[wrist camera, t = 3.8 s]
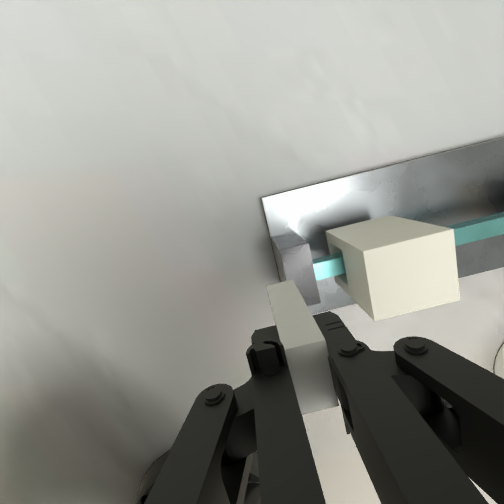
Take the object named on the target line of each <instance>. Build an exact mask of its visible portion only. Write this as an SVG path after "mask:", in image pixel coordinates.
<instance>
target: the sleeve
mask: <svg viewBox="0 0 504 504" xmlns="http://www.w3.org/2000/svg"><path fill="white" fill-rule="evenodd" d="M325 232H326V237H327V242H328V247H329V253H330V255H332V254H336V253H340V252H342V253H343V259H344V264H345V270H346V273H345V274H341V275H336V276H334V279H335V282H336V283H337V284H338V285H339V286H340V287H341V288H342V289H343V290H344V291H345V292H346V293H347V294H348V295H349V296H350V297H351V298H352V299H353V300H354V301H355V302H356V303H357V304H358V305H359V306H360V307H361V308H362V309H363V310H364V311H365V312H366V313H367V314H368V315H369V316H370V317H371V318H372V319H373V320H374V321H378V320H382V319H386V318H390V317H394V316H398V315H402V314H406V313H410V312H414V311H418V310H422V309H426V308H430V307H434V306H438V305H442V304H446V303H450V302H454V301H458V300H460V293H459V282H458V271H457V261H456V250H455V239H454V229H451V228H447V227H442V226H438V225H433V224H428V223H424V222H419V221H414V220H410V219H405V218H401V217H396V216H391V215H387V216H383V217H379V218H375V219H371V220H367V221H363V222H359V223H355V224H351V225H347V226H343V227H339V228H335V229H331V230H327V231H325Z"/></svg>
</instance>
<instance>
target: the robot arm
mask: <svg viewBox="0 0 504 504" xmlns="http://www.w3.org/2000/svg"><path fill="white" fill-rule="evenodd" d="M266 287H267V291H268V295H269V299H270V303H271V307H272V311H273V316H274V320H275V324H276V325H275V326H271V327H267V328H263V329H259V330H255V332H254V333H253V335H252V337H251V339H252V345H251V346H250V347H249V348H248V349H247V352H246V355H247V359H248V363H249V366H250V370H251V373H252V377H251V378H250V380H249V381H248V382H246V383H245V384H244V385H242V386H240V387H238V388H236V389H234V390H233V389H232V387H231V386H229V385H227V384H216V385H212V386H210V387H208V388H206V389H205V390H203V391H202V392H201V393H200V394H199V395H198V397H197V398H196V400H195V402H194V404H193V406H192V408H191V410H190V412H189V414H188V416H187V418H186V420H185V422H184V424H183V426H182V428H181V430H180V432H179V434H178V436H177V438H176V440H175V442H174V444H173V446H172V448H171V450H170V451H169V452H167V453H166V454H164V455H163V456H161V457H160V458H159V459H158V460H157V461H156V462H154V463H153V465H152V466H151V467H150V468H149V469H148V471H147V472H146V474H145V476H144V478H143V480H142V482H141V485H140V488H139V492H138V495H137V498H136V501H135V504H326V503H325V499H324V495H323V492H322V488H321V484H320V481H319V477H318V473H317V470H316V466H315V462H314V459H313V455H312V451H311V448H310V444H309V440H308V436H307V433H306V429H305V425H304V422H303V418H302V414H306V413H311V412H315V411H319V410H323V409H327V408H332V407H336V406H339V403H338V399H339V401H340V403H341V408H342V412H343V417H344V422H345V427H346V432H347V434H350V433H351V435H352V437H353V440H354V442H355V444H356V447H357V449H358V451H359V453H360V456H361V458H362V460H363V463H364V465H365V467H366V469H367V472H368V474H369V476H370V479H371V481H372V483H373V485H374V488H375V490H376V492H377V494H378V497H379V499H380V501H381V504H488V502H487V501H486V500H485V498H484V497H483V496H482V494H481V493H480V492H479V490H478V489H477V488H476V487H475V485H474V484H473V483H472V481H474V482H475V483H476V484H477V485H478V486H479V487H480V488H481V489H482V490H483V491H484V492H486V493H487V494H488V495H489V496H490V497H491V498H492V499H493V500H494V501H495V502H496V503H498V504H504V379H503V378H501V377H499V376H497V375H495V374H494V373H492V372H490V371H488V370H486V369H484V368H482V367H480V366H479V365H477V364H475V363H473V362H471V361H469V360H467V359H465V358H464V357H462V356H460V355H458V354H456V353H454V352H452V351H450V350H449V349H447V348H445V347H443V346H441V345H439V344H437V343H435V342H434V341H432V340H429V339H426V338H422V337H406V338H402V339H400V340H398V341H397V342H395V344H394V346H393V347H394V351H372V350H370V349H369V347H368V346H367V345H366V344H364V343H363V342H360V341H357V340H355V338H354V337H353V336H352V334H351V333H350V331H349V330H348V329H347V327H345V325H344V323H343V322H342V320H341V319H340V318H339V316H338V315H336V314H334V313H332V312H330V311H329V312H325V313H321V314H317V315H313V316H312V314H311V312H310V310H309V309H308V307H307V305H306V303H305V301H304V299H303V298H302V296H301V294H300V292H299V290H298V288H297V286H296V285H295V283H294V281H293V279H292V280H288V281H284V282H280V283H276V284H272V285H267V286H266ZM337 397H338V398H337ZM255 451H257V453H256V452H255ZM469 478H470V479H471V480H472V481H471V480H470V479H469Z"/></svg>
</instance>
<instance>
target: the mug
mask: <svg viewBox="0 0 504 504" xmlns="http://www.w3.org/2000/svg"><path fill="white" fill-rule="evenodd" d="M494 371H495V375H497V376H499V377H501V378H503V379H504V344H503V345H502V347H501V348H500V350H499V352H498V354H497V357H496V360H495V367H494Z"/></svg>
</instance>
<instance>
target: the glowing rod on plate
mask: <svg viewBox="0 0 504 504" xmlns="http://www.w3.org/2000/svg"><path fill="white" fill-rule="evenodd" d="M261 200H262V204H263V208H264V213H265V217H266V221H267V225H268V230H269V234H270V238H271V243H272V247H273V251H274V255H275V260H276V264H277V268H278V273H279V277H280V281H281V282H284V281H288V280H292V279H293V281H294V283H295V285H296V286H297V288H298V290H299V292H300V294H301V296H302V298H303V299H304V301H305V303H306V305H307V307H308V309H309V310H310V312H311V314H315V313H320V312H324V311H328V310H332V309H336V308H340V307H344V306H348V305H352V304H356V302H355V301H354V300H353V299H352V298H351V297H350V296H349V295H348V294H347V293H346V292H345V291H344V290H343V289H342V288H341V287H340V286H339V285H338V284H337V283H336V282H335V279H334V276H336V275H341V274H345V273H346V270H345V264H344V259H343V253H342V252H340V253H336V254H332V255H330V253H329V247H328V242H327V237H326V232H325V231H327V230H331V229H335V228H339V227H343V226H347V225H351V224H355V223H359V222H363V221H367V220H371V219H375V218H379V217H383V216H387V215H391V216H396V217H401V218H405V219H410V220H414V221H419V222H424V223H428V224H433V225H438V226H442V227H447V228H451V229H454V239H455V250H456V261H457V271H458V278H461V277H465V276H469V275H473V274H477V273H481V272H485V271H489V270H493V269H497V268H501V267H504V137H501V138H497V139H493V140H489V141H485V142H481V143H477V144H473V145H469V146H465V147H461V148H457V149H453V150H449V151H445V152H441V153H437V154H433V155H429V156H425V157H421V158H417V159H413V160H409V161H405V162H401V163H397V164H393V165H389V166H385V167H381V168H377V169H373V170H369V171H365V172H361V173H357V174H353V175H349V176H345V177H341V178H337V179H333V180H329V181H325V182H321V183H317V184H313V185H309V186H305V187H301V188H297V189H293V190H289V191H285V192H281V193H277V194H273V195H269V196H265V197H261Z"/></svg>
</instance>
